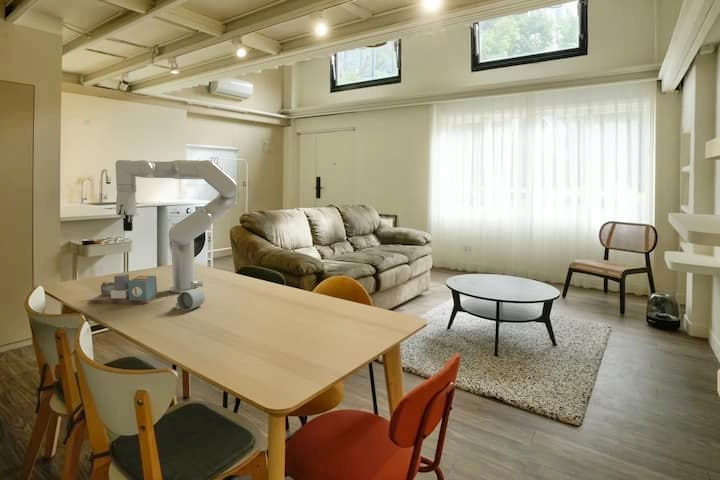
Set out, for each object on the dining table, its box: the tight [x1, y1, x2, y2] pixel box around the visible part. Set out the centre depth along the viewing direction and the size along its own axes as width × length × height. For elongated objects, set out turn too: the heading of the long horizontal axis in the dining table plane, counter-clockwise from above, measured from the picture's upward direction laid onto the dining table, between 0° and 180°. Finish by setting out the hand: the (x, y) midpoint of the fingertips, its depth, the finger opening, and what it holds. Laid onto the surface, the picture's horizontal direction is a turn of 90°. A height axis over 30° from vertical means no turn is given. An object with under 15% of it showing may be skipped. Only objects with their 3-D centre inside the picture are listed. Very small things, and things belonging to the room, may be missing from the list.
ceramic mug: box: [175, 289, 205, 312], centre depth 170 cm, size 11×8×8 cm
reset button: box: [135, 276, 149, 280], centre depth 179 cm, size 4×4×3 cm
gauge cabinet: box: [128, 275, 158, 300], centre depth 179 cm, size 7×11×8 cm, turn 3°
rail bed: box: [88, 281, 158, 305], centre depth 179 cm, size 23×10×7 cm, turn 93°
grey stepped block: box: [111, 273, 130, 299], centre depth 178 cm, size 6×7×9 cm
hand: (128, 230), depth 188 cm, fingers closed
